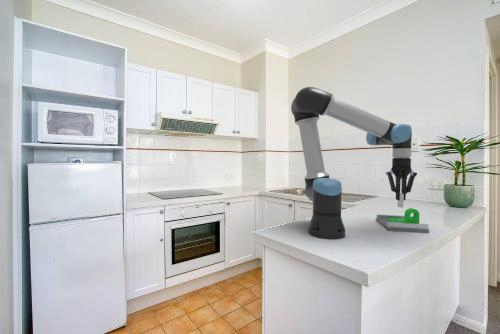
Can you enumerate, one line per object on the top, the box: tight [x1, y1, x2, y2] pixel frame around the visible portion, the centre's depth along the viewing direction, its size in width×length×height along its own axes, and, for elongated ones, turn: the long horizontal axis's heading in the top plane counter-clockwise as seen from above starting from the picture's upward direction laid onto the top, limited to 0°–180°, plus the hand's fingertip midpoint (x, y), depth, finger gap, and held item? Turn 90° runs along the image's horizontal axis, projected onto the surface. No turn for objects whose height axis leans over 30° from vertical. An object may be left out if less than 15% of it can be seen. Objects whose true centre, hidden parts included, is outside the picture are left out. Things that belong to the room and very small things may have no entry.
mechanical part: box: [388, 207, 420, 224], centre depth 111 cm, size 12×6×8 cm, turn 90°
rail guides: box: [375, 214, 429, 229], centre depth 113 cm, size 16×16×2 cm
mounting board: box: [375, 218, 430, 234], centre depth 113 cm, size 16×18×2 cm
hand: (400, 206), depth 113 cm, fingers closed
